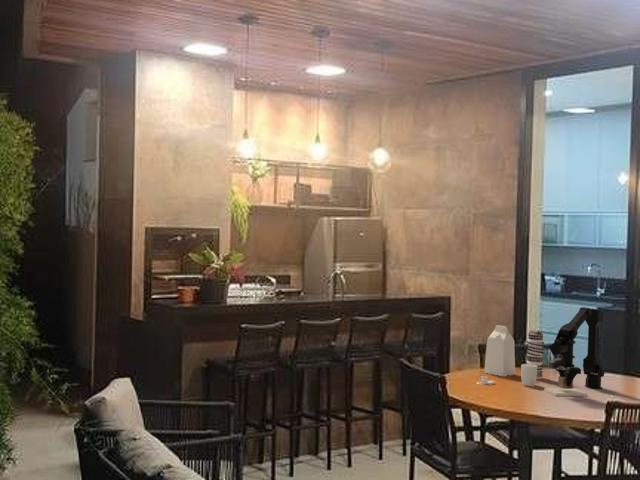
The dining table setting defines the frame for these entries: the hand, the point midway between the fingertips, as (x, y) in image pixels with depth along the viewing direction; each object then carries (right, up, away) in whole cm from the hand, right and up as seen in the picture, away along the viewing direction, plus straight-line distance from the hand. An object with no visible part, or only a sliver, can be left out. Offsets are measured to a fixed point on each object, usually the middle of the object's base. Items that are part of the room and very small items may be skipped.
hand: (565, 385), depth 380 cm
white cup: (-13, -3, +18) cm, 23 cm away
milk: (-21, -3, +48) cm, 53 cm away
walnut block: (0, -1, 0) cm, 1 cm away
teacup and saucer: (-34, -3, +15) cm, 37 cm away
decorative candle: (-4, -3, +40) cm, 40 cm away
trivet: (0, -4, 0) cm, 4 cm away
